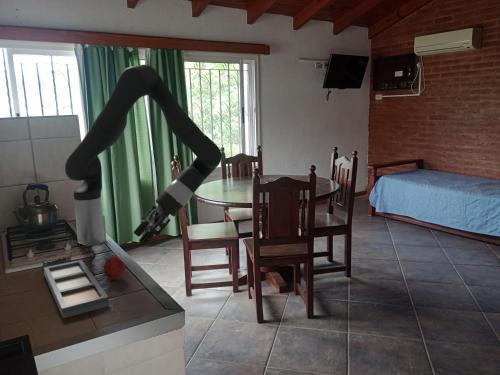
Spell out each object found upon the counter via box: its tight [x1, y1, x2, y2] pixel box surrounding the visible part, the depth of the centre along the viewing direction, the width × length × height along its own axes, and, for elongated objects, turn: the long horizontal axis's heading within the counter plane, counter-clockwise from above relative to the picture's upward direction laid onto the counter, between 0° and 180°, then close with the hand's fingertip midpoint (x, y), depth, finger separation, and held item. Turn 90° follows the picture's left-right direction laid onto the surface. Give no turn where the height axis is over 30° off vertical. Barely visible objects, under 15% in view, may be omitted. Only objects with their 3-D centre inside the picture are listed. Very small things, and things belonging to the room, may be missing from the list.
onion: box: [102, 253, 125, 281], centre depth 119 cm, size 6×6×8 cm
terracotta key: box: [62, 288, 99, 305], centre depth 106 cm, size 8×8×1 cm
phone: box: [41, 257, 71, 272], centre depth 135 cm, size 8×1×15 cm
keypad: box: [43, 259, 110, 319], centre depth 114 cm, size 30×11×3 cm, turn 34°
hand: (138, 238), depth 121 cm, fingers open, 8 cm apart
